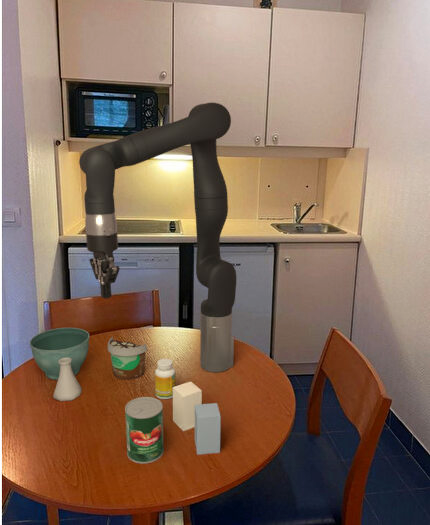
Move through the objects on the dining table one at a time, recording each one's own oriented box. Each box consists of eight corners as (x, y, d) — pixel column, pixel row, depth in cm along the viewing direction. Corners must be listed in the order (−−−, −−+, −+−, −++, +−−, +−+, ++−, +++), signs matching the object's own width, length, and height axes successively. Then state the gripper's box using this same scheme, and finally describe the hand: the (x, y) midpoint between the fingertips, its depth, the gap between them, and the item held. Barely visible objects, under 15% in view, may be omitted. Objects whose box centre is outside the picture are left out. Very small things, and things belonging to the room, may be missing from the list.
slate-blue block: (216, 438, 102) (216, 403, 99) (219, 452, 97) (220, 416, 95) (194, 440, 101) (194, 404, 99) (197, 454, 96) (197, 417, 94)
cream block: (190, 414, 111) (190, 381, 109) (201, 424, 107) (201, 390, 105) (173, 420, 108) (172, 387, 106) (183, 431, 104) (183, 396, 102)
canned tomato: (150, 435, 102) (149, 392, 100) (171, 452, 97) (170, 407, 94) (119, 450, 97) (117, 405, 94) (139, 469, 92) (138, 422, 89)
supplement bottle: (156, 389, 122) (155, 357, 120) (176, 389, 122) (175, 357, 120) (154, 400, 117) (153, 366, 114) (175, 399, 117) (174, 366, 115)
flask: (73, 403, 115) (70, 368, 112) (47, 400, 116) (44, 365, 114) (86, 389, 122) (84, 355, 119) (62, 386, 123) (59, 352, 121)
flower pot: (26, 369, 132) (23, 335, 129) (80, 355, 141) (78, 323, 139) (42, 392, 119) (38, 355, 117) (99, 375, 129) (97, 341, 126)
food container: (99, 376, 128) (98, 344, 126) (112, 367, 134) (110, 336, 131) (136, 385, 124) (135, 352, 121) (148, 375, 129) (147, 343, 127)
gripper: (76, 229, 113) (82, 294, 118) (98, 237, 103) (103, 307, 108) (104, 225, 118) (108, 288, 122) (127, 233, 108) (131, 301, 112)
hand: (106, 297), depth 115 cm, fingers closed
